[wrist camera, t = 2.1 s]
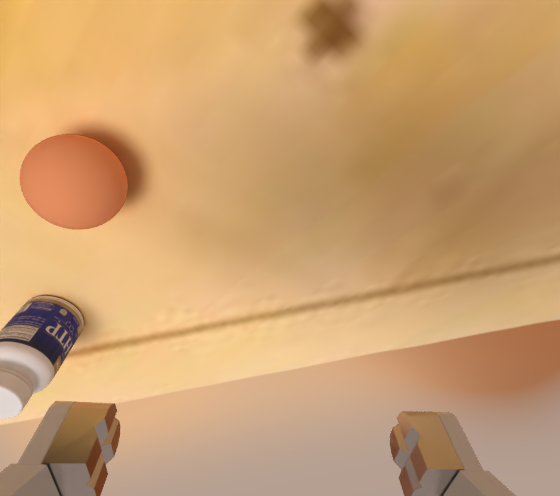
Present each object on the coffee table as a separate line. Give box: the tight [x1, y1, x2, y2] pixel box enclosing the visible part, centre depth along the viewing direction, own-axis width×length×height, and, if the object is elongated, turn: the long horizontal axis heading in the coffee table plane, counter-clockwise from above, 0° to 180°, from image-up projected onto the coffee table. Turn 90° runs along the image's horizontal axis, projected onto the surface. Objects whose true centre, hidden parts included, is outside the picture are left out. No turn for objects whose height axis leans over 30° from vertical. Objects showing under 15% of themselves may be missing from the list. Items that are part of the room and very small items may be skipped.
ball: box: [20, 134, 128, 229], centre depth 23 cm, size 6×6×6 cm
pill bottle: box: [0, 296, 84, 419], centre depth 29 cm, size 5×5×9 cm
